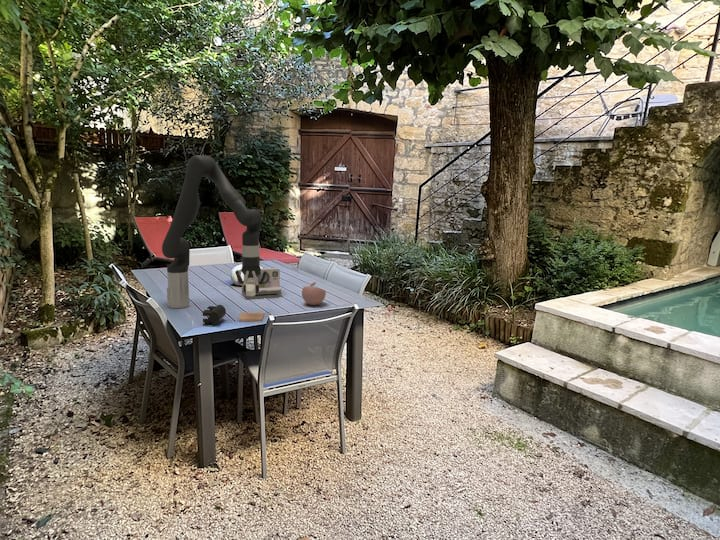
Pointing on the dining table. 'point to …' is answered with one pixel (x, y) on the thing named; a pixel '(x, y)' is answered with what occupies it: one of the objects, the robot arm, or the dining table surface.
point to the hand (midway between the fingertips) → (251, 292)
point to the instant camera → (266, 285)
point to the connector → (250, 288)
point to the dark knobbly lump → (214, 314)
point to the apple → (313, 294)
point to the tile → (251, 317)
